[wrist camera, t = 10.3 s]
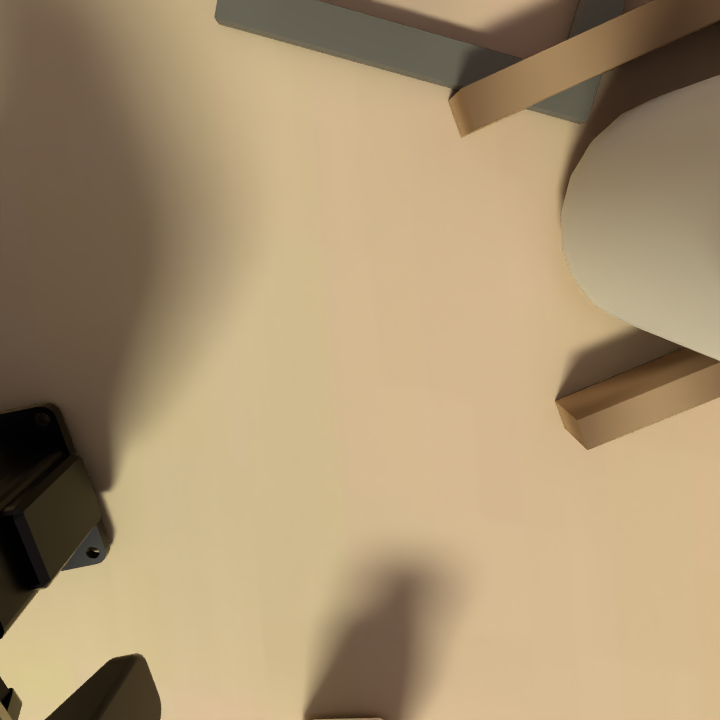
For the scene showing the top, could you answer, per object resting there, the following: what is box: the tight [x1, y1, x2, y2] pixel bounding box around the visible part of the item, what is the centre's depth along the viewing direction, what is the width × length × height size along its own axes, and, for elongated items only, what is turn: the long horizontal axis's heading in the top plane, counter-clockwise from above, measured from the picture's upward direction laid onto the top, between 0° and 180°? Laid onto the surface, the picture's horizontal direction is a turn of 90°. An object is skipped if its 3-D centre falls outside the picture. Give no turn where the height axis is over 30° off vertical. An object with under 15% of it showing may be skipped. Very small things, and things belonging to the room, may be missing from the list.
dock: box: [448, 0, 720, 450], centre depth 17 cm, size 12×12×5 cm
